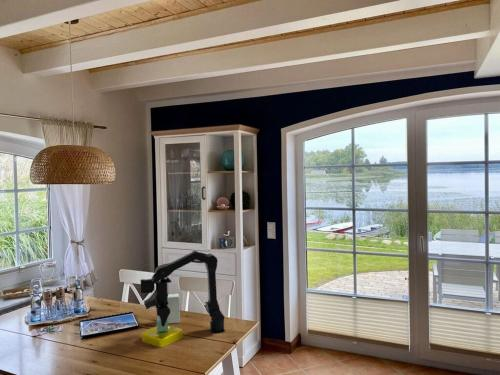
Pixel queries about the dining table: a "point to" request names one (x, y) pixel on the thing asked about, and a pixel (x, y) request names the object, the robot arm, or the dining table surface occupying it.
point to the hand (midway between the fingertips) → (162, 322)
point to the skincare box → (173, 308)
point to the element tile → (161, 336)
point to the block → (159, 325)
